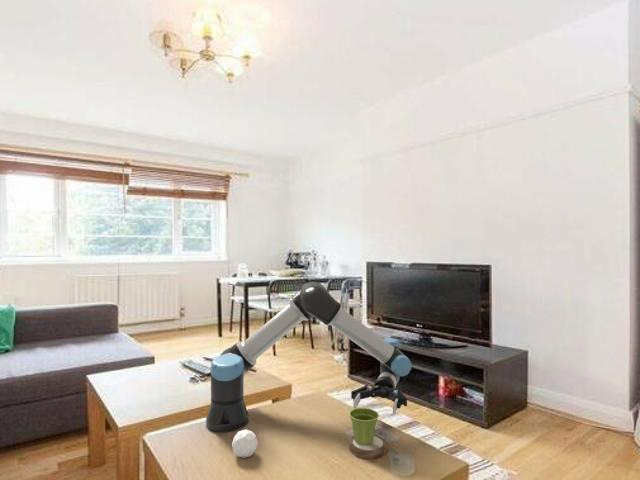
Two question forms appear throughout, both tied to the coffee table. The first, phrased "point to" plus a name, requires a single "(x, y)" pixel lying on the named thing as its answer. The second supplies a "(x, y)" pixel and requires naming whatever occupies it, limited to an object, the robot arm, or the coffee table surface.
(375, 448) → the pedestal
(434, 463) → the coffee table surface
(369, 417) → the plant pot
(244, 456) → the geometric ball
